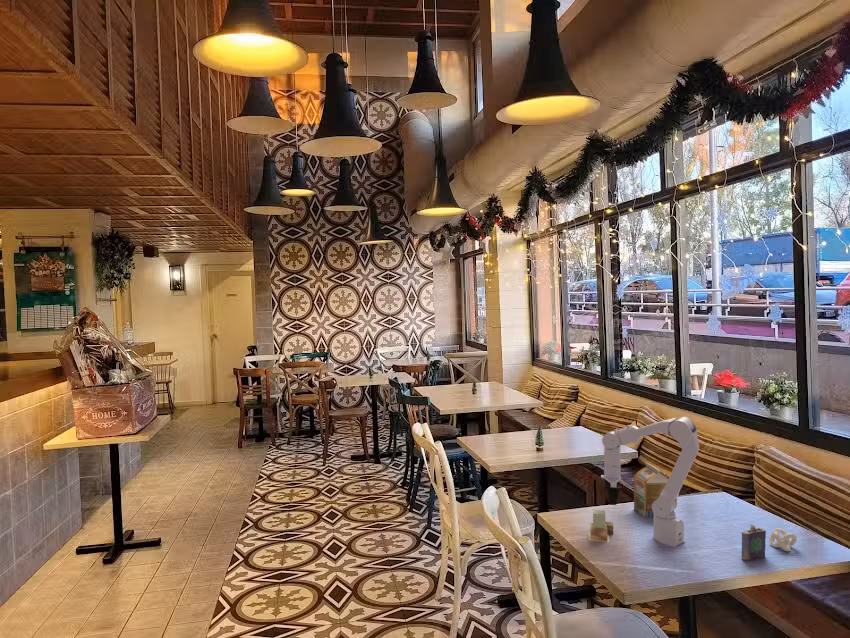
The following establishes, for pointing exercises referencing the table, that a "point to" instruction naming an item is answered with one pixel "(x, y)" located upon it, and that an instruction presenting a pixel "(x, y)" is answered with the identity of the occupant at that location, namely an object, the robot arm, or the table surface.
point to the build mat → (598, 540)
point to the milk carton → (647, 489)
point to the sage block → (599, 519)
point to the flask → (753, 544)
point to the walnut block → (609, 527)
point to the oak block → (598, 533)
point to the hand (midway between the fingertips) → (612, 501)
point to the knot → (782, 539)
